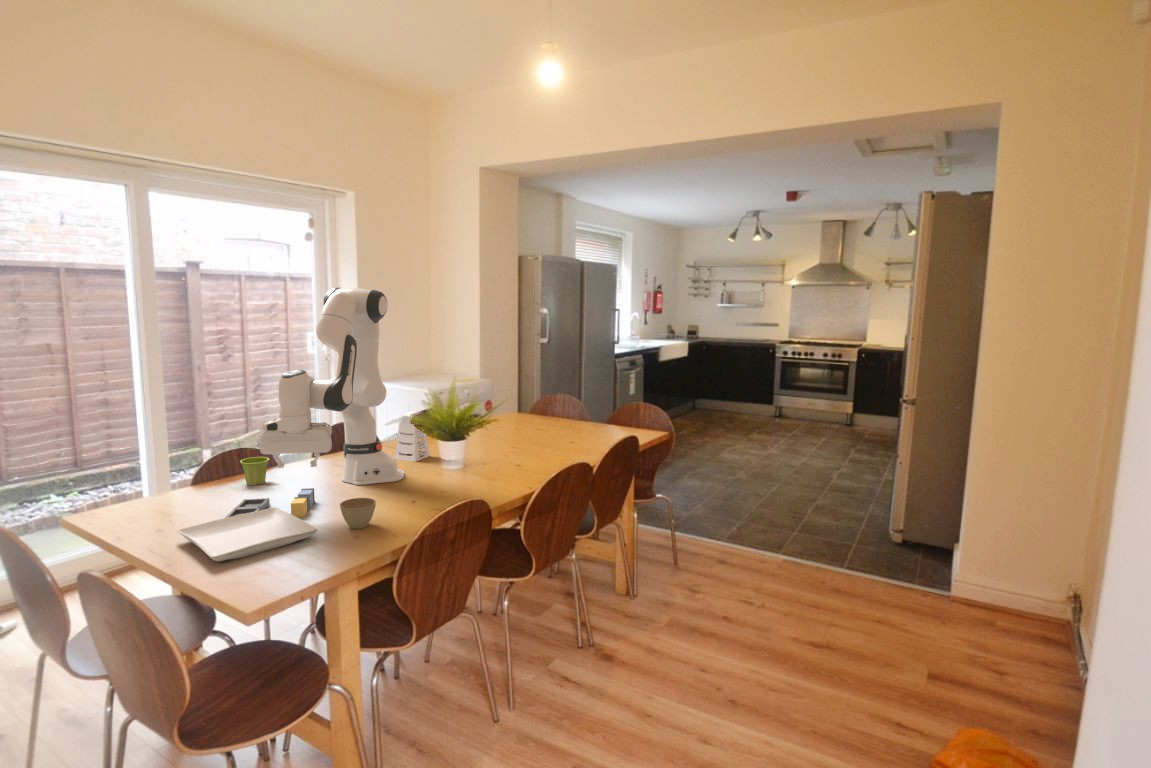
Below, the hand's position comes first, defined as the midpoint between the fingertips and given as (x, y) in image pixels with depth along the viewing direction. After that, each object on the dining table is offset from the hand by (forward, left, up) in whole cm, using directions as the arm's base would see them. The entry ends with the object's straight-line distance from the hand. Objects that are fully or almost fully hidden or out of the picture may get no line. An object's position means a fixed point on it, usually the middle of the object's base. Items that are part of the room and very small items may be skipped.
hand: (297, 467), depth 186 cm
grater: (-31, -67, -15) cm, 75 cm away
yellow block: (0, 0, -15) cm, 15 cm away
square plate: (+9, +20, -16) cm, 27 cm away
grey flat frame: (+15, -2, -15) cm, 22 cm away
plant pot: (+23, -38, -15) cm, 47 cm away
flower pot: (-20, +14, -15) cm, 28 cm away
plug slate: (0, -9, -15) cm, 18 cm away
